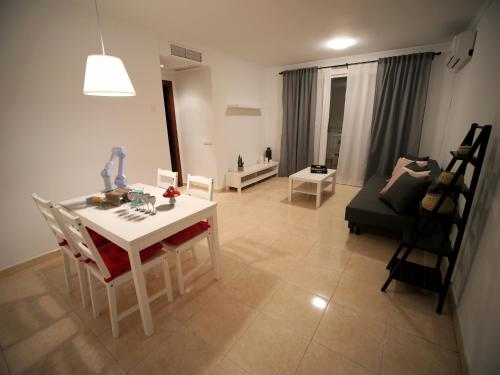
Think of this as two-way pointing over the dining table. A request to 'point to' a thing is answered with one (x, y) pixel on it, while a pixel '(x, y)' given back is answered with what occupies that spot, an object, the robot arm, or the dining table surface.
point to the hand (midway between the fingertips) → (111, 199)
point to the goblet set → (142, 196)
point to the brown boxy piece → (117, 196)
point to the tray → (96, 201)
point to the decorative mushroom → (171, 194)
